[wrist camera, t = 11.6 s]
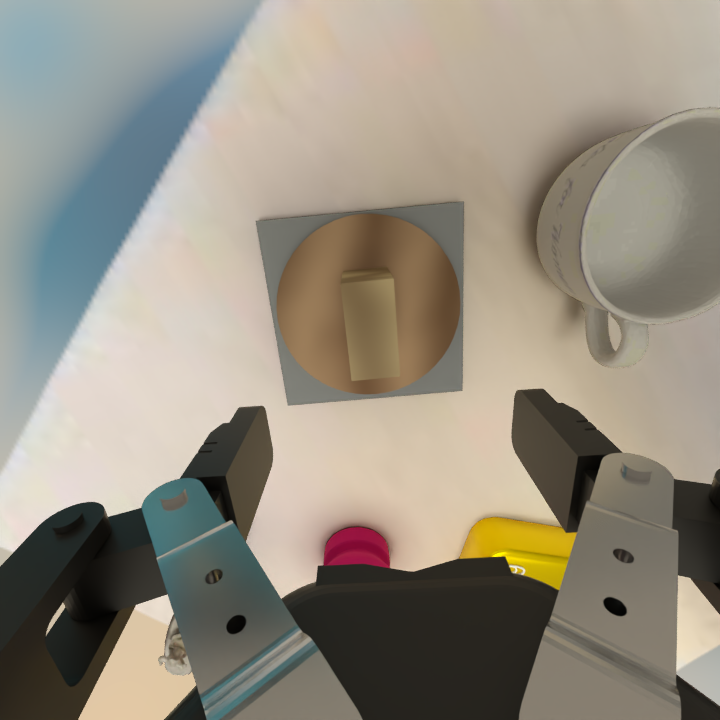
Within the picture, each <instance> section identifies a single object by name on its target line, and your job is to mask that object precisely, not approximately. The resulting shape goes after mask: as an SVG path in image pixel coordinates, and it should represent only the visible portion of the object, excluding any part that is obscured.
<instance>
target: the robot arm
mask: <svg viewBox="0 0 720 720" xmlns="http://www.w3.org/2000/svg"><path fill="white" fill-rule="evenodd" d="M512 443H513V448H514V450H515V453H516V454H517V456H518V458H519V459H520V461H521V462H522V464H523V466H524V467H525V469H526V470H527V472H528V474H529V475H530V477H531V478H532V480H533V481H534V483H535V485H536V486H537V488H538V489H539V491H540V493H541V494H542V496H543V497H544V499H545V501H546V502H547V504H548V505H549V507H550V508H551V510H552V512H553V513H554V515H555V516H556V518H557V520H558V521H559V523H560V524H561V526H562V528H563V529H564V531H565V532H566V533H574V532H577V534H576V537H575V541H574V544H573V547H572V550H571V553H570V557H569V560H568V563H567V566H566V570H565V573H564V576H563V579H562V583H561V586H560V589H559V590H557V589H556V588H554V587H552V586H550V585H548V584H546V583H544V582H542V581H539V580H537V579H534V578H531V577H528V576H525V575H521V574H517V573H512V572H511V569H510V567H509V565H508V562H507V560H506V557H505V556H502V557H483V558H463V559H456V560H453V561H449V562H446V563H442V564H439V565H436V566H432V567H429V568H425V569H422V570H419V571H414V572H409V571H402V570H397V569H391V568H386V567H380V566H374V565H369V564H345V565H326V566H318V571H317V579H316V582H314V583H311V584H308V585H306V586H304V587H301V588H299V589H297V590H295V591H293V592H291V593H290V594H288V595H286V596H285V597H283V598H282V599H281V598H280V596H279V595H278V593H277V591H276V590H275V588H274V587H273V585H272V583H271V582H270V580H269V579H268V577H267V575H266V574H265V572H264V571H263V569H262V567H261V566H260V564H259V562H258V561H257V559H256V558H255V556H254V554H253V553H252V551H251V550H250V548H249V546H248V545H247V543H246V539H247V536H248V533H249V531H250V528H251V525H252V522H253V519H254V516H255V513H256V510H257V508H258V505H259V502H260V499H261V496H262V493H263V490H264V487H265V484H266V482H267V479H268V476H269V473H270V470H271V467H272V462H273V448H272V442H271V437H270V431H269V426H268V420H267V415H266V411H265V408H264V407H263V406H252V407H239V408H238V410H237V411H236V413H235V415H234V416H233V418H232V419H231V421H230V423H223V424H222V425H220V426H219V427H218V428H216V429H215V430H214V431H212V432H211V433H210V434H209V436H208V437H207V439H206V440H205V442H204V445H202V446H201V448H200V449H199V451H198V453H197V454H196V455H195V457H194V458H193V460H192V461H191V463H190V464H189V466H188V467H187V469H186V470H185V472H184V473H183V475H182V476H181V478H180V479H177V480H173V481H170V482H168V483H165V484H163V485H161V486H160V487H158V488H156V489H155V490H154V491H152V492H151V493H150V494H149V495H148V496H147V497H146V498H145V500H144V502H143V504H142V508H139V509H136V510H132V511H129V512H125V513H121V514H118V515H114V516H110V517H108V516H107V514H106V511H105V509H104V507H103V505H101V504H99V503H96V502H86V503H80V504H76V505H73V506H70V507H68V508H65V509H63V510H61V511H59V512H57V513H55V514H54V515H52V516H51V517H49V518H48V519H46V520H45V521H44V522H42V523H41V524H40V525H39V526H38V527H37V528H36V529H35V530H34V531H33V533H32V534H31V535H30V536H29V537H28V538H27V539H26V540H25V541H24V542H23V543H22V544H21V545H20V546H19V547H18V548H17V550H16V551H15V552H14V553H13V554H12V555H11V556H10V557H9V558H8V559H7V560H6V561H5V562H4V563H3V565H1V566H0V720H78V718H79V716H80V714H81V712H82V710H83V708H84V706H85V704H86V703H87V701H88V699H89V697H90V695H91V693H92V691H93V689H94V687H95V684H96V683H97V681H98V679H99V677H100V675H101V673H102V671H103V669H104V667H105V665H106V663H107V661H108V659H109V657H110V655H111V653H112V651H113V649H114V647H115V645H116V643H117V641H118V639H119V637H120V635H121V633H122V631H123V629H124V628H125V626H126V624H127V622H128V620H129V618H130V616H131V614H132V611H133V610H134V608H135V606H136V605H137V604H140V603H143V602H146V601H149V600H152V599H155V598H158V597H161V596H164V595H167V594H168V597H169V600H170V603H171V606H172V609H173V612H174V616H175V619H176V622H177V625H178V628H179V631H180V635H181V638H182V641H183V644H184V647H185V650H186V654H187V657H188V660H189V663H190V666H191V669H192V673H193V675H194V679H195V682H196V686H195V687H194V688H193V689H192V691H191V692H190V693H189V694H188V695H187V696H186V697H185V698H184V699H183V700H182V701H181V702H180V703H179V704H178V705H177V707H176V708H175V709H174V710H173V711H172V712H171V713H170V714H169V715H168V716H167V717H166V718H165V719H164V720H720V706H719V705H717V704H716V703H715V702H713V701H711V699H709V698H708V697H706V696H705V695H704V694H702V693H701V692H700V691H698V690H697V689H695V688H694V687H693V686H691V685H690V684H689V683H687V682H686V681H684V680H683V679H682V678H680V677H679V676H678V675H676V650H677V593H678V575H679V576H684V577H689V578H691V580H692V581H693V582H694V583H695V585H696V586H697V587H698V588H699V590H700V591H701V592H702V593H703V594H704V596H705V597H706V598H707V599H708V601H709V602H710V603H711V604H712V606H713V607H714V608H715V609H716V610H717V612H718V613H719V614H720V469H719V470H718V471H716V473H715V476H714V480H713V483H712V485H711V484H704V483H697V482H689V481H682V480H676V479H674V478H673V476H672V474H671V473H670V472H669V471H668V470H667V469H666V468H665V467H664V466H662V465H661V464H659V463H657V462H655V461H653V460H651V459H649V458H646V457H643V456H640V455H635V454H630V453H623V452H621V451H620V450H619V449H618V448H617V447H616V446H615V445H614V444H613V443H612V442H611V441H610V440H609V439H608V438H607V437H605V436H604V435H603V434H602V433H601V432H600V431H599V430H597V429H596V427H595V426H594V425H593V424H592V423H590V422H588V420H587V419H586V418H585V417H584V416H583V415H582V414H581V413H580V412H579V411H578V410H576V409H574V408H572V407H570V406H568V405H566V404H564V403H557V402H556V401H555V400H554V399H553V398H552V397H551V396H550V395H549V394H548V393H547V392H546V391H545V390H544V389H528V390H518V391H517V392H516V394H515V398H514V410H513V422H512ZM62 603H64V605H65V609H64V611H63V612H62V613H61V615H60V616H59V618H58V619H57V621H56V622H55V624H54V625H53V627H52V628H51V629H50V631H49V633H48V634H47V636H46V631H47V628H48V625H49V623H50V621H51V619H52V617H53V616H54V614H55V613H56V611H57V610H58V609H59V607H60V606H61V604H62Z"/></svg>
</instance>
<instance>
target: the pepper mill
mask: <svg viewBox="0 0 720 720" xmlns="http://www.w3.org/2000/svg"><path fill="white" fill-rule="evenodd" d="M345 564H369V565H374V566H380V567H386V568H390V560H389V550H388V546H387V543H386V541H385V540H384V539H383V537H382V536H381V535H380V534H378V533H376V532H375V531H373V530H370V529H367V528H361V527H353V528H347V529H344V530H341V531H339V532H337V533H336V534H334V535H333V536H332V537H331V538H330V539H329V541H328V542H327V544H326V547H325V553H324V566H326V565H345Z"/></svg>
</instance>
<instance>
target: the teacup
mask: <svg viewBox="0 0 720 720" xmlns="http://www.w3.org/2000/svg"><path fill="white" fill-rule="evenodd" d="M537 249H538V254H539V258H540V261H541V263H542V266H543V268H544V270H545V272H546V273H547V275H548V276H549V278H550V279H551V280H552V282H553V283H554V284H555V285H556V286H557V287H558V288H560V289H561V290H562V291H563V292H565V293H566V294H568V295H569V296H571V297H573V298H575V299H577V300H579V301H581V302H582V306H583V309H584V311H585V325H586V338H587V344H588V348H589V350H590V353H591V355H592V357H593V358H594V359H595V360H596V361H597V362H598V363H599V364H601V365H603V366H606V367H610V368H625V367H629V366H632V365H634V364H636V363H637V362H638V361H639V360H641V358H642V357H643V355H644V354H645V352H646V349H647V346H648V341H649V334H648V325H647V324H652V325H656V324H666V323H672V322H676V321H680V320H684V319H688V318H691V317H694V316H696V315H699V314H701V313H703V312H705V311H707V310H709V309H710V308H712V307H713V306H715V305H716V304H718V303H720V108H711V107H709V108H697V109H690V110H686V111H682V112H679V113H676V114H673V115H670V116H668V117H666V118H664V119H662V120H660V121H658V122H656V123H652V124H649V125H645V126H642V127H639V128H636V129H633V130H630V131H627V132H624V133H622V134H619V135H616V136H614V137H611V138H609V139H606V140H604V141H602V142H600V143H599V144H597V145H595V146H593V147H591V148H590V149H588V150H587V151H585V152H584V153H583V154H581V155H580V156H579V157H577V158H576V159H575V160H574V161H573V162H572V163H571V164H570V165H569V166H567V167H566V168H565V170H564V171H563V172H562V173H561V174H560V176H559V177H558V178H557V179H556V181H555V182H554V184H553V185H552V187H551V189H550V190H549V192H548V194H547V196H546V198H545V201H544V203H543V205H542V208H541V212H540V215H539V219H538V225H537ZM608 312H610V313H611V316H612V317H613V318H614V319H615V320H616V321H617V323H618V325H619V327H620V330H621V334H622V336H621V342H620V346H619V348H618V349H617V351H616V352H615V350H614V349H613V347H612V344H611V342H610V337H609V331H608Z"/></svg>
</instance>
